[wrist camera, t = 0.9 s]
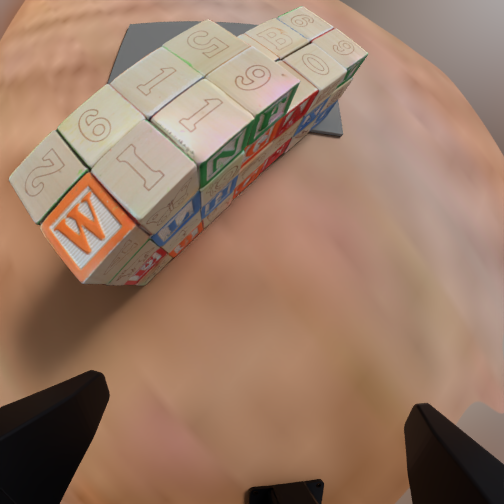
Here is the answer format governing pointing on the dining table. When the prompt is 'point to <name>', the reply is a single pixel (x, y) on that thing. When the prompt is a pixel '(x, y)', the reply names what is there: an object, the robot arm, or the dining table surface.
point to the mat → (156, 34)
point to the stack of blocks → (179, 141)
